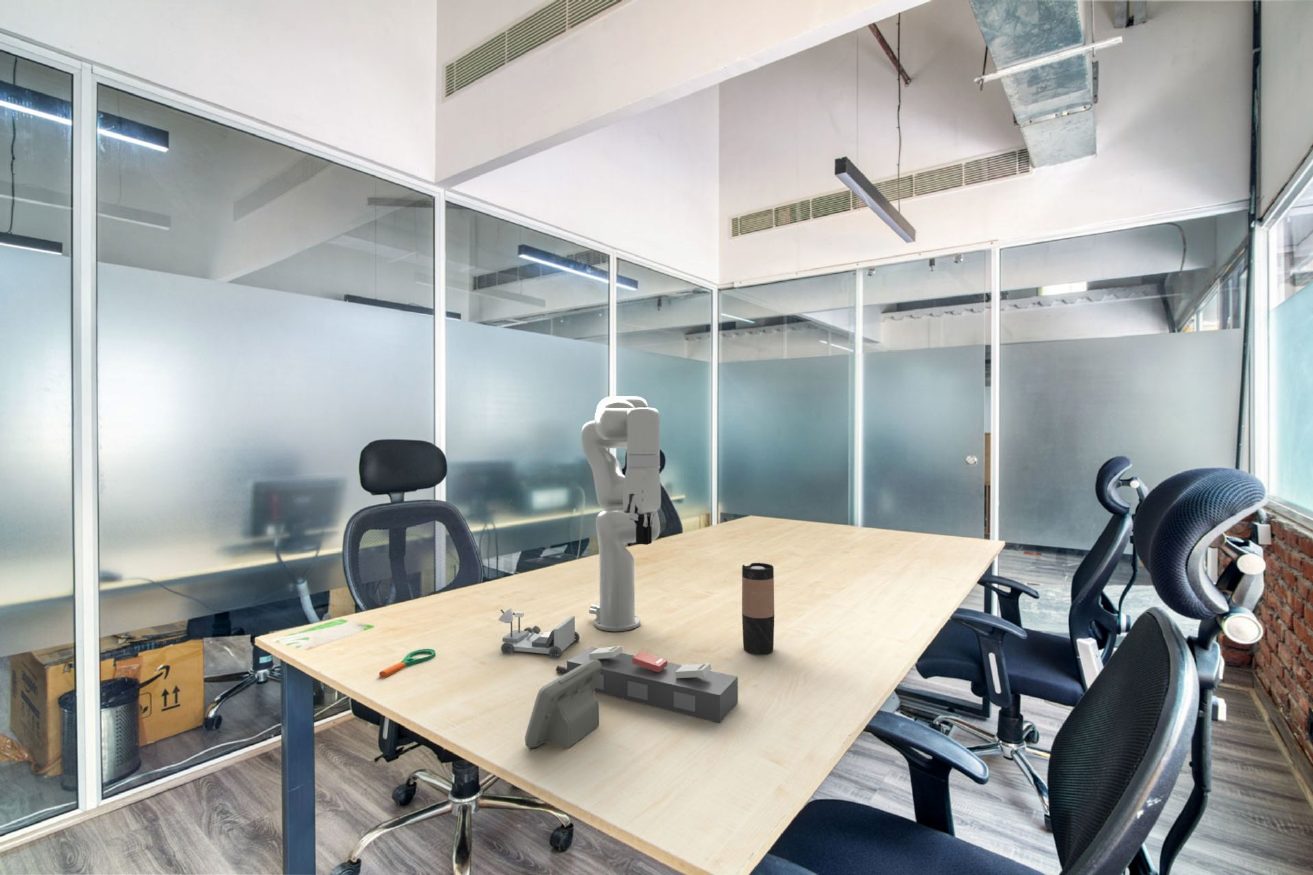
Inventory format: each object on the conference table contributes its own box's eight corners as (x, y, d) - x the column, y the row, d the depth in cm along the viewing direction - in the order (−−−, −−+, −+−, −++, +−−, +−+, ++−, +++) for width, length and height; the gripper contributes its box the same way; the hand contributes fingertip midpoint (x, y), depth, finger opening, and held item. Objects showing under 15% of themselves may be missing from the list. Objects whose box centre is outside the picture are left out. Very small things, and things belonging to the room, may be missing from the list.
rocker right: (676, 678, 111) (674, 671, 111) (684, 671, 114) (682, 664, 114) (704, 676, 108) (702, 669, 108) (711, 669, 111) (710, 662, 111)
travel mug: (774, 656, 135) (774, 570, 135) (741, 654, 136) (740, 569, 136) (774, 644, 142) (774, 563, 142) (743, 642, 144) (742, 562, 144)
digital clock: (584, 707, 110) (584, 651, 110) (618, 723, 104) (617, 664, 104) (511, 742, 98) (511, 679, 98) (545, 761, 92) (544, 694, 92)
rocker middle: (632, 663, 116) (632, 657, 115) (641, 657, 119) (641, 651, 119) (658, 672, 113) (659, 665, 113) (667, 665, 116) (667, 659, 116)
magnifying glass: (420, 652, 140) (420, 645, 140) (441, 655, 138) (441, 648, 138) (371, 677, 125) (371, 669, 125) (393, 681, 123) (393, 673, 123)
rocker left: (590, 659, 120) (588, 653, 121) (599, 653, 124) (598, 647, 124) (613, 657, 118) (612, 651, 118) (622, 651, 121) (621, 645, 121)
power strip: (543, 679, 123) (543, 656, 123) (570, 664, 131) (569, 642, 131) (719, 723, 103) (719, 695, 103) (737, 702, 112) (737, 676, 112)
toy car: (490, 612, 139) (514, 599, 150) (491, 653, 139) (514, 637, 150) (560, 618, 134) (579, 604, 145) (560, 660, 134) (579, 643, 145)
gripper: (645, 460, 139) (645, 537, 139) (611, 463, 126) (611, 547, 126) (673, 461, 136) (673, 539, 136) (641, 464, 123) (641, 551, 123)
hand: (643, 543), depth 131 cm, fingers closed
